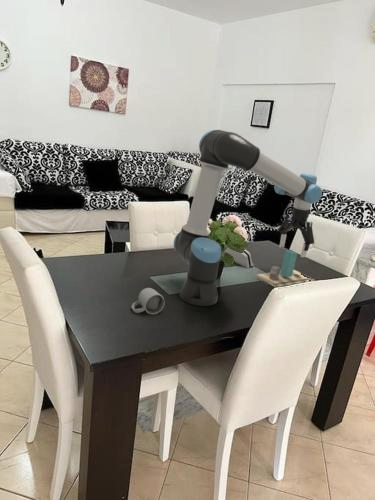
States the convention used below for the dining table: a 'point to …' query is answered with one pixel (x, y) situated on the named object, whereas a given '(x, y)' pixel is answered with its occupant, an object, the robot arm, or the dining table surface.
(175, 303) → the dining table surface
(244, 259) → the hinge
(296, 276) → the hole board
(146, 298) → the ceramic mug
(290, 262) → the block
